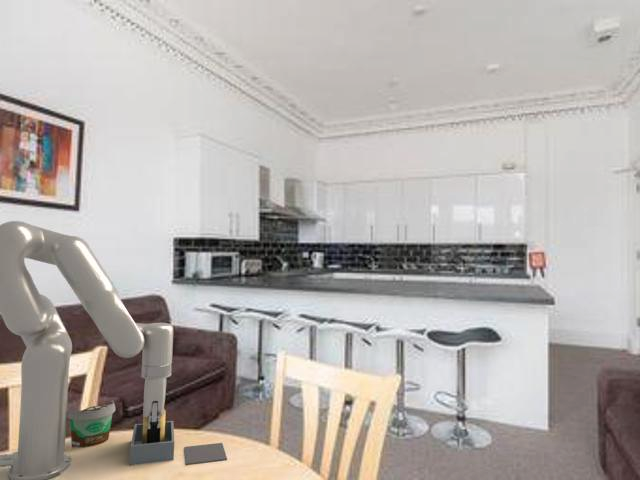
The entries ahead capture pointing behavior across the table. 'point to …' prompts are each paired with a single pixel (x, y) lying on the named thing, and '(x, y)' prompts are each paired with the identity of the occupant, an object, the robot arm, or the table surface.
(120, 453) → the table surface
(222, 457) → the gray square plate
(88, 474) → the table surface
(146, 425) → the mustard cylinder
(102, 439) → the food container
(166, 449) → the slate open box
